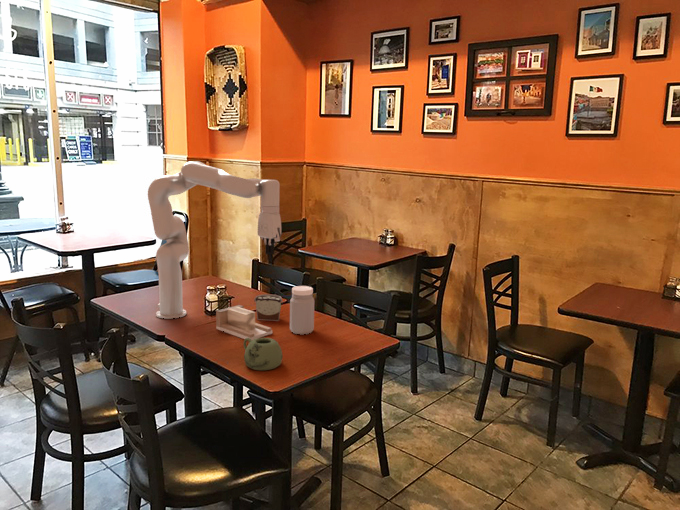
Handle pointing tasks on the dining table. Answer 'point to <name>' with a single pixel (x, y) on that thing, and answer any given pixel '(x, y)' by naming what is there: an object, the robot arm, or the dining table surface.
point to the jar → (302, 310)
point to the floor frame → (252, 334)
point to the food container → (268, 307)
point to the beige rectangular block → (241, 318)
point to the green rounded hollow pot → (262, 353)
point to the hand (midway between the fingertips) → (269, 254)
